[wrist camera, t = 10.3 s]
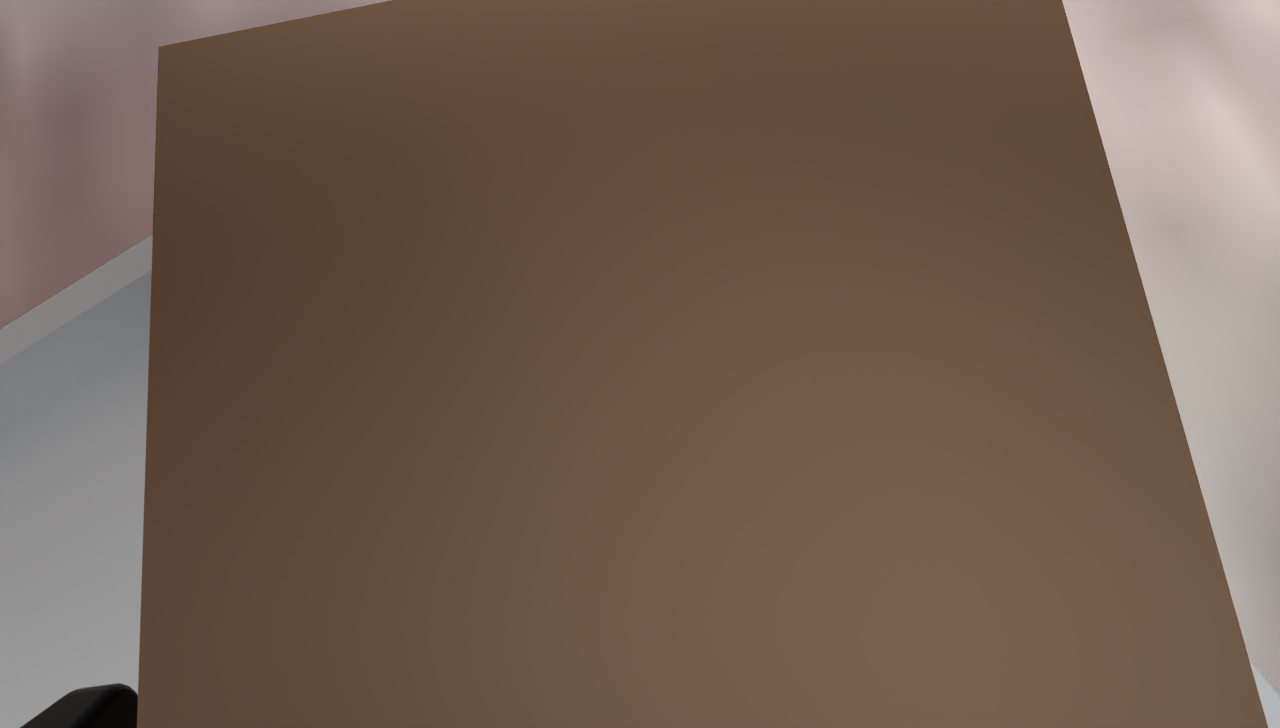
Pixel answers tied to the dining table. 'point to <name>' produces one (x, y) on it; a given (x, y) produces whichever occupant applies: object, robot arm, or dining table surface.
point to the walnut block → (661, 380)
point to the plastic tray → (91, 490)
